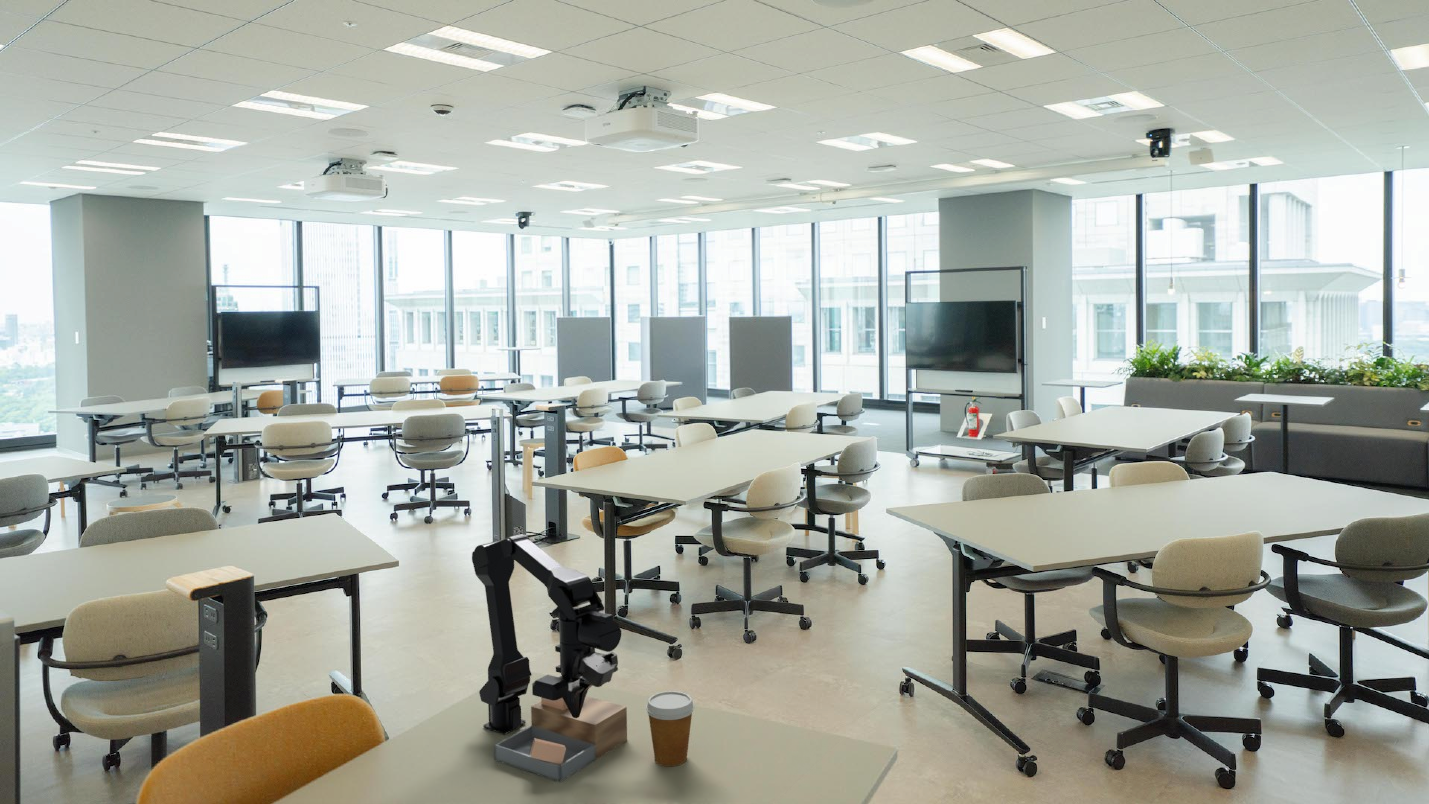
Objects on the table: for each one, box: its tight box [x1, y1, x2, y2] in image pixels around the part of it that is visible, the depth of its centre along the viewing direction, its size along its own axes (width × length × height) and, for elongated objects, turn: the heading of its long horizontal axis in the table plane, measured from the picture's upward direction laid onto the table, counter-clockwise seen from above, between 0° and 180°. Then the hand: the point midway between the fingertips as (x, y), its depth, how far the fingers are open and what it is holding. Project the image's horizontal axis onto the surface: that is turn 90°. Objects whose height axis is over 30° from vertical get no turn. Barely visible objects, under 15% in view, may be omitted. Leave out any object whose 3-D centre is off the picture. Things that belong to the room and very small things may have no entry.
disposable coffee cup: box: [645, 690, 695, 767], centre depth 177 cm, size 10×10×12 cm
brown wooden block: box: [530, 695, 628, 760], centre depth 186 cm, size 17×10×7 cm, turn 58°
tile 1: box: [540, 697, 568, 710], centre depth 188 cm, size 6×6×3 cm
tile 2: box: [530, 738, 566, 764], centre depth 174 cm, size 6×6×3 cm
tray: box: [493, 724, 597, 783], centre depth 178 cm, size 17×10×3 cm, turn 58°
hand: (576, 717), depth 178 cm, fingers closed
